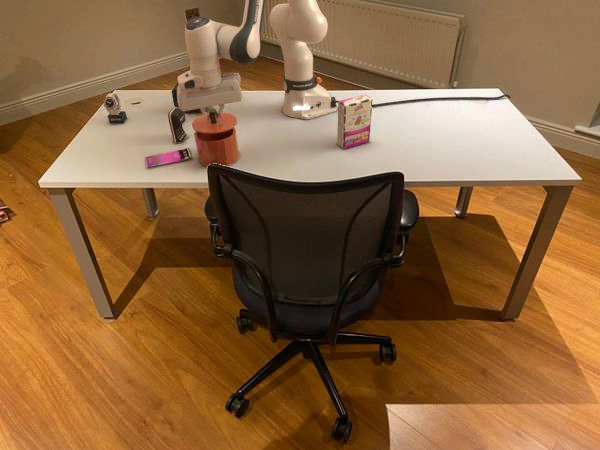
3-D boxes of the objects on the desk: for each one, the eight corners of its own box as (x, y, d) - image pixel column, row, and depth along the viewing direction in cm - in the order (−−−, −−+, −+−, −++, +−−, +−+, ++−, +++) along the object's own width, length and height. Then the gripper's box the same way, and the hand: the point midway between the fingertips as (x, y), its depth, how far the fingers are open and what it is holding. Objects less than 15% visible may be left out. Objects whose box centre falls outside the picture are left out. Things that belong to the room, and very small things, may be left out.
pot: (233, 144, 158) (230, 120, 152) (243, 162, 148) (240, 137, 142) (195, 151, 154) (191, 127, 148) (203, 170, 145) (198, 145, 139)
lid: (231, 112, 151) (229, 97, 148) (242, 130, 141) (240, 115, 137) (188, 119, 147) (186, 105, 144) (197, 139, 137) (194, 124, 134)
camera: (175, 118, 178) (211, 114, 176) (167, 91, 171) (204, 87, 169) (182, 107, 186) (216, 103, 184) (174, 81, 179) (209, 77, 177)
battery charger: (183, 144, 159) (177, 114, 152) (173, 143, 159) (166, 114, 152) (189, 134, 164) (184, 106, 157) (180, 134, 165) (174, 105, 157)
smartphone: (192, 159, 150) (192, 157, 149) (148, 168, 146) (147, 166, 145) (189, 149, 155) (188, 147, 155) (146, 158, 151) (145, 155, 151)
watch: (108, 125, 171) (99, 98, 164) (115, 116, 178) (107, 90, 171) (122, 125, 171) (114, 98, 164) (129, 116, 177) (121, 90, 170)
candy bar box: (361, 136, 161) (365, 93, 151) (369, 142, 158) (373, 98, 147) (335, 143, 157) (337, 100, 147) (343, 149, 154) (345, 105, 143)
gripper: (237, 67, 138) (241, 108, 147) (171, 77, 133) (181, 119, 142) (242, 74, 134) (247, 116, 143) (175, 85, 129) (184, 128, 137)
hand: (213, 117), depth 142 cm, fingers closed on lid, 2 cm apart
